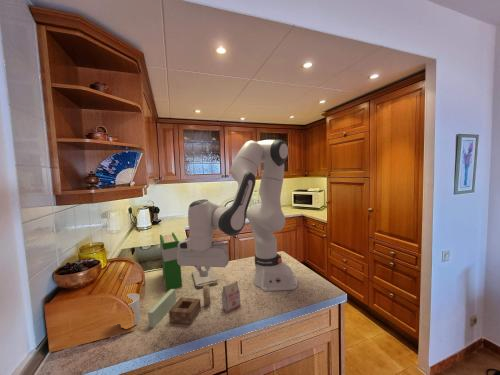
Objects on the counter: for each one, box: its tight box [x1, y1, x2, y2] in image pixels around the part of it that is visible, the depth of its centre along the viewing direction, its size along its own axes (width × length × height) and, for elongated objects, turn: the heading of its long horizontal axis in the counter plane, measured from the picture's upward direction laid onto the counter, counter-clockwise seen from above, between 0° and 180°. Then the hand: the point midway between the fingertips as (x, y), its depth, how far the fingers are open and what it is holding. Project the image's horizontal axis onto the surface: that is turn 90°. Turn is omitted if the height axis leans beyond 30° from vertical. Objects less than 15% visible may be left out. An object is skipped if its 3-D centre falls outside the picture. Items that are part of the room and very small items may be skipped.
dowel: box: [202, 285, 212, 307], centre depth 94 cm, size 3×3×8 cm
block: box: [168, 297, 202, 325], centre depth 88 cm, size 9×9×4 cm
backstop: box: [147, 289, 177, 328], centre depth 90 cm, size 2×16×6 cm, turn 169°
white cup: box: [126, 292, 141, 326], centre depth 85 cm, size 8×8×10 cm
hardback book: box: [159, 232, 183, 292], centre depth 115 cm, size 18×7×24 cm, turn 27°
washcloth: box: [191, 267, 219, 290], centre depth 117 cm, size 12×18×3 cm, turn 23°
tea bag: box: [221, 281, 242, 313], centre depth 92 cm, size 4×7×10 cm, turn 126°
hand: (203, 276), depth 85 cm, fingers closed
